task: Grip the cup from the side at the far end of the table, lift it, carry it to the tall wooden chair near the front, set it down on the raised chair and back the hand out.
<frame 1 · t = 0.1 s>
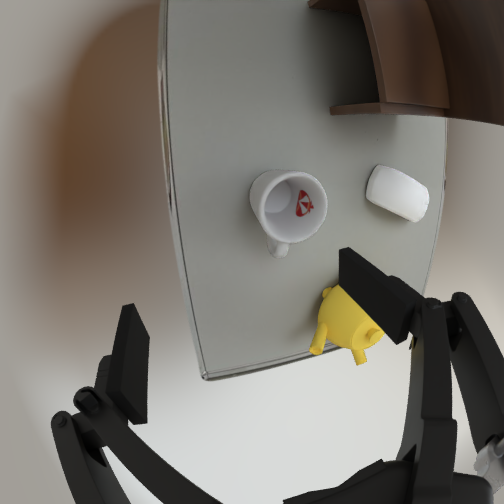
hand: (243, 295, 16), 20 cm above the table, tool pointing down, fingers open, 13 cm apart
cup: (269, 203, 36), on the table
computer mouse: (392, 192, 40), on the table
teapot: (337, 305, 47), on the table
wooden chair: (355, 56, 30), on the table
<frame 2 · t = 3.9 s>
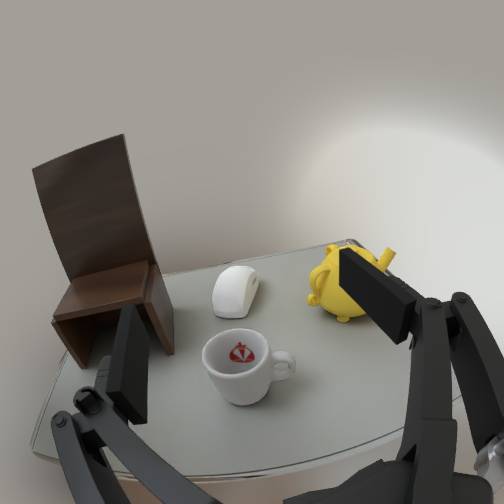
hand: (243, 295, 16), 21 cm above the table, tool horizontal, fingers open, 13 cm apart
cup: (256, 389, 33), on the table
computer mouse: (238, 299, 53), on the table
teapot: (355, 305, 45), on the table
wooden chair: (127, 340, 45), on the table
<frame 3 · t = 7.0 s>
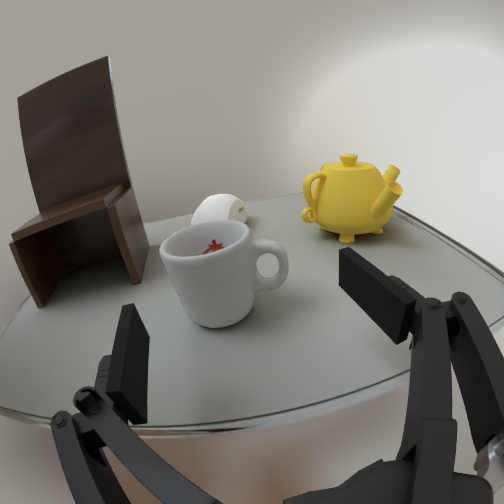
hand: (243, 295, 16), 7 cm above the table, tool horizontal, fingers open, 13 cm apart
cup: (236, 311, 26), on the table
computer mouse: (223, 232, 46), on the table
teapot: (359, 230, 39), on the table
wooden chair: (93, 276, 38), on the table
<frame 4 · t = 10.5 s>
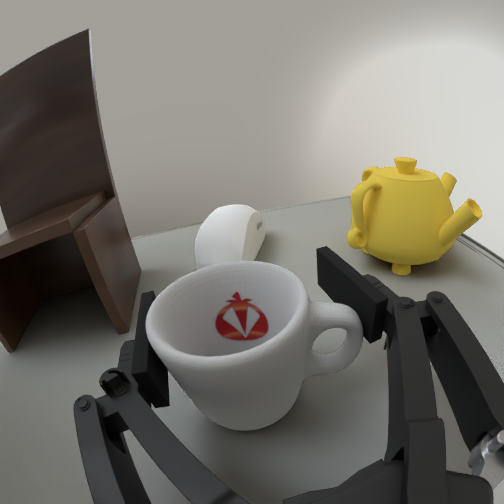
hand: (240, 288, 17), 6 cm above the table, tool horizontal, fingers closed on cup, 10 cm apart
cup: (271, 395, 16), on the table, touching gripper
computer mouse: (236, 254, 36), on the table
teapot: (411, 255, 28), on the table
wooden chair: (71, 313, 27), on the table
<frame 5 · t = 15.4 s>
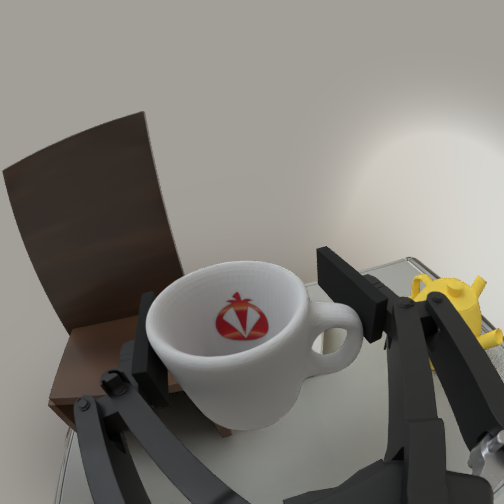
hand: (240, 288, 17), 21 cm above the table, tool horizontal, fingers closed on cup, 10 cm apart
cup: (271, 395, 16), point 15 cm above the table, touching gripper
teapot: (442, 346, 31), on the table
wooden chair: (157, 410, 30), on the table
when the fingers open (18 cm above the table, at t = 20.6 s): cup stays where it is, resting on wooden chair.
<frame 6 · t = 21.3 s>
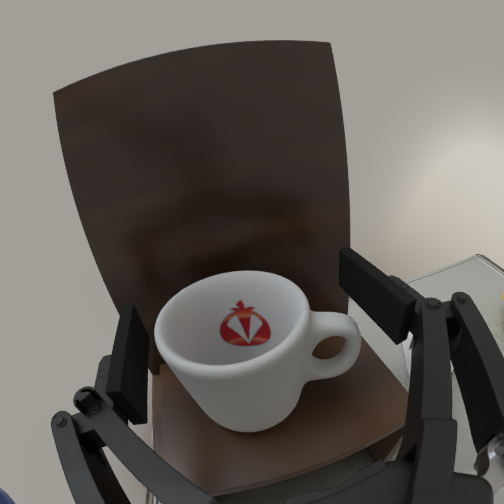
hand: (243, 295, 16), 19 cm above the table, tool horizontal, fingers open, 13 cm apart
cup: (273, 398, 17), point 12 cm above the table, touching wooden chair
wooden chair: (283, 453, 22), on the table
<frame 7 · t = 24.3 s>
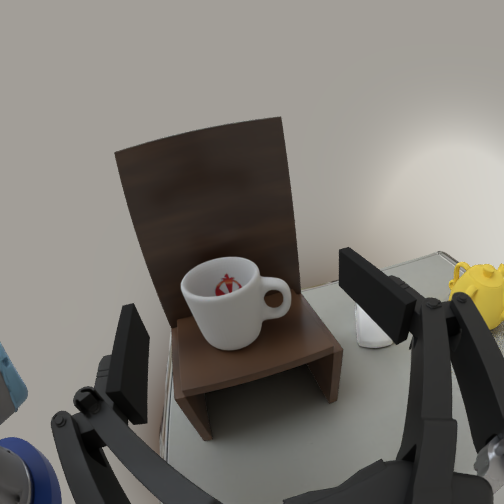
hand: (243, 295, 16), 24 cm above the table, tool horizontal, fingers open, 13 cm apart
cup: (246, 334, 30), point 12 cm above the table, touching wooden chair
computer mouse: (372, 324, 43), on the table
teapot: (477, 320, 36), on the table
wooden chair: (260, 391, 35), on the table
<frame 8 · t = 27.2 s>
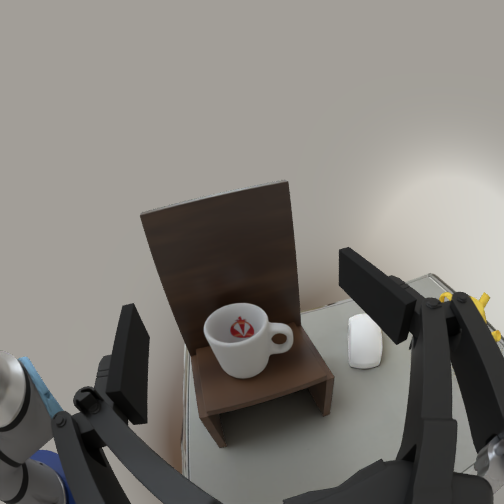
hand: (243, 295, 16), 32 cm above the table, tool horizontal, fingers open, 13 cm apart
cup: (256, 364, 36), point 12 cm above the table, touching wooden chair
computer mouse: (362, 346, 49), on the table
teapot: (459, 343, 42), on the table
wooden chair: (265, 405, 41), on the table
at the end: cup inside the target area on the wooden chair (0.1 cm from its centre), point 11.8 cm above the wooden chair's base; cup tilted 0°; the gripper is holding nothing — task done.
